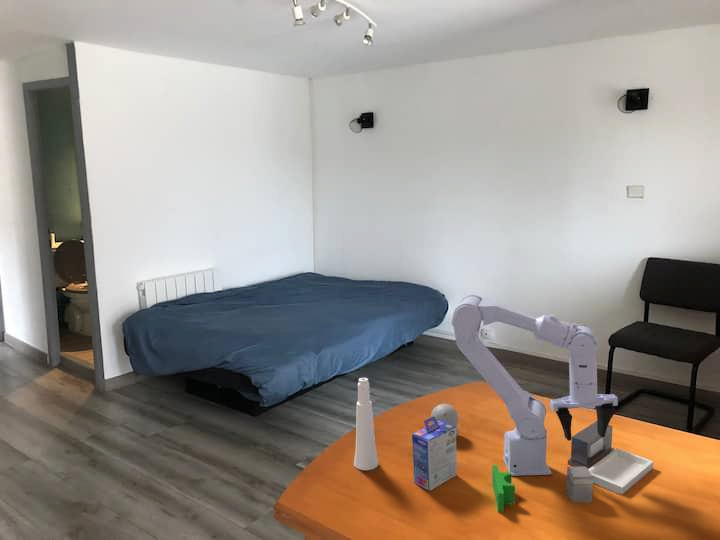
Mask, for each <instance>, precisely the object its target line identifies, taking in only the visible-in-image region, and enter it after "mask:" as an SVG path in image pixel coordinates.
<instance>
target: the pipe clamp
mask: <svg viewBox="0 0 720 540" xmlns="http://www.w3.org/2000/svg"><path fill="white" fill-rule="evenodd" d="M491 466H492V467H491V470H492V471H491V472H492V474H491V476H492V477H491V483H492V487H493V494H494V498H495V503H496V509H497V512H498V513H504V512H505V511H504V510H505V509H504V508H505V505H515V492H516V491H515V489H516V486H515V484H514V483H512V477H513V476H512V474H511V473H509V471H508V472H506V471H505V472H502V471H500V470H499V466H498V464H492V465H491Z"/></svg>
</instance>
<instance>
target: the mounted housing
mask: <svg viewBox="0 0 720 540" xmlns="http://www.w3.org/2000/svg"><path fill="white" fill-rule="evenodd" d="M613 427H614V426H613V425H610V424H608V426H607V429H606V433H605V437H601V436H600V435H599V434H598V431H597V420H596V421H595V422H593V423H591V424H590V425H588V426H586V427H585V428H584V429H582V430H580V431H579V432H576V433H575V434H574V435H571V447H570V448H571V449H570V458H569V459H568V460H567V465H568V466H569V465H570V466H571V467H587V469H589V468H591V467H592V466H593V465H595V464H596V463H597V462H599V461H600V460H601V459H603V458H604V457H606V456H607V455H608V454H610V453H611V452H612V451H614V450H615V448H613V447H612V441H613Z"/></svg>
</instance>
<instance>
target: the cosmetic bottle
mask: <svg viewBox="0 0 720 540" xmlns="http://www.w3.org/2000/svg"><path fill="white" fill-rule="evenodd" d="M370 394H371V393H370V382H369V379H368V378H367V377H360V378H358V383H357V402H356V408H355V409H356V413H355V414H356V416H355V418H356V419H355V420H356V421H355V423H356V425H355V426H356V427H355V428H356V429H355V451H354V452H355V453H354V459H353V460H354V461H353V466H354V467H355V468H356V469H358V470H359V471H371V470H375V469H376V468H377V467H379V458H378V455H377V446H376V439H375V437H376V436H375V426H374V413H373V405H372V404H373V403H372V401H371V400H370V399H371V395H370Z"/></svg>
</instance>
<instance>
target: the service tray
mask: <svg viewBox="0 0 720 540" xmlns="http://www.w3.org/2000/svg"><path fill="white" fill-rule="evenodd" d="M653 469H654V461H653V460H651V459H648V458H646V457H643V456H640V455H637V454H634V453H631V452H628V451H626V450H624V449H621V448H618V447H617V448H614V451H612V452H611V453H610V454H608V455H607V456H606V457H604V458H603V459H601V460H600V461H599V462H597V463H596V464H595V465H593V466H592V467H591V468H589V469H588V470H589V472H590V473H591V474H592V476H593V485H597V486H599V487H602V488H604V489H607V490H609V491H611V492H613V493H616V494H619V495H621V496H623V495H624V494H626V492H627V491H629V490H630V489H631V488H632V487H633V486H634V485H636V484H637V483H638V482H639V481H640V480H641V479H642V478H644V477H645V476H646V475H647V474H648V473H650V472H651V471H652V470H653Z"/></svg>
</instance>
